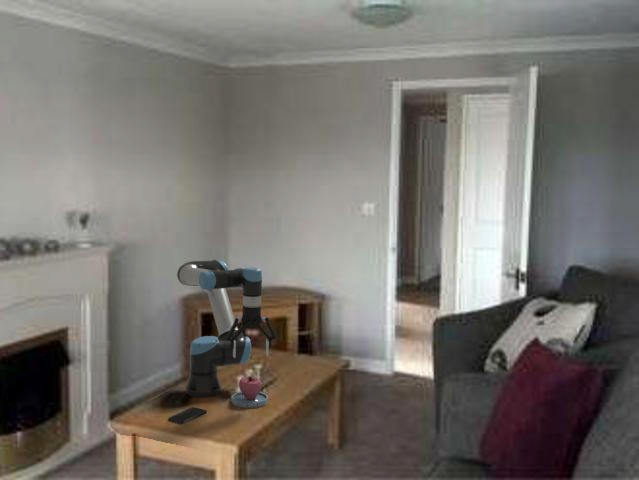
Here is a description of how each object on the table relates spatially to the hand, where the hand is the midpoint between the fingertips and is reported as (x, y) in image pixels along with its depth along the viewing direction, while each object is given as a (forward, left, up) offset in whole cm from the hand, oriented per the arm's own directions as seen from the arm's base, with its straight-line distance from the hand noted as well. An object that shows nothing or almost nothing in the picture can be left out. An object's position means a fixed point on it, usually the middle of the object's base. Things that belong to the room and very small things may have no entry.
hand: (250, 356), depth 279 cm
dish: (0, 0, -19) cm, 19 cm away
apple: (0, 0, -18) cm, 18 cm away
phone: (-26, -13, -20) cm, 35 cm away
